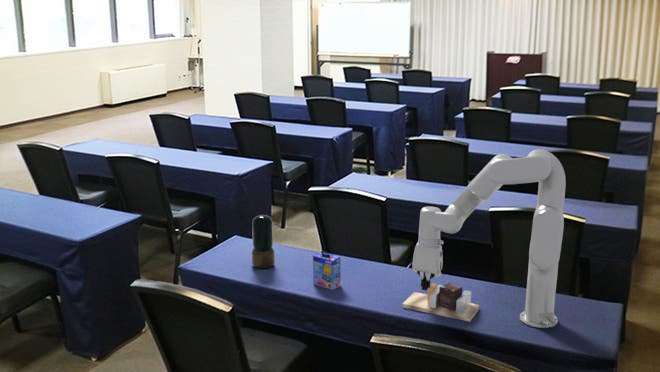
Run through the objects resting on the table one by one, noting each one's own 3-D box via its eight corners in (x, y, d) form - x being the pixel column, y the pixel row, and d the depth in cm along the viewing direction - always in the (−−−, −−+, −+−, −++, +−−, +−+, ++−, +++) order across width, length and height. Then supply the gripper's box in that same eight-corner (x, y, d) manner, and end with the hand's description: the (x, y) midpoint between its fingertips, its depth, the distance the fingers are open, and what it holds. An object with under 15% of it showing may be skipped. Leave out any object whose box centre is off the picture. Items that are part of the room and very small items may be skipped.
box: (462, 306, 242) (463, 287, 240) (452, 311, 238) (453, 291, 236) (448, 301, 246) (449, 282, 244) (438, 305, 242) (439, 286, 240)
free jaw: (444, 298, 248) (445, 282, 246) (435, 308, 239) (436, 292, 237) (434, 296, 249) (434, 280, 248) (425, 306, 241) (425, 290, 239)
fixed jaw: (470, 304, 243) (471, 291, 242) (462, 314, 235) (463, 301, 233) (464, 303, 244) (464, 290, 243) (455, 313, 236) (456, 300, 235)
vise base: (479, 308, 243) (479, 304, 243) (469, 321, 233) (470, 317, 233) (413, 295, 254) (414, 291, 254) (402, 307, 244) (402, 303, 244)
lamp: (248, 263, 286) (247, 214, 281) (269, 260, 290) (268, 211, 285) (257, 271, 278) (255, 220, 272) (278, 267, 282) (277, 217, 277)
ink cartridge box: (312, 284, 264) (312, 249, 261) (320, 280, 269) (320, 245, 265) (333, 290, 259) (333, 254, 255) (341, 285, 263) (341, 250, 260)
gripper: (452, 242, 240) (448, 289, 245) (412, 234, 247) (409, 281, 251) (445, 248, 234) (441, 297, 238) (405, 240, 240) (402, 288, 245)
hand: (425, 288), depth 245 cm, fingers closed
